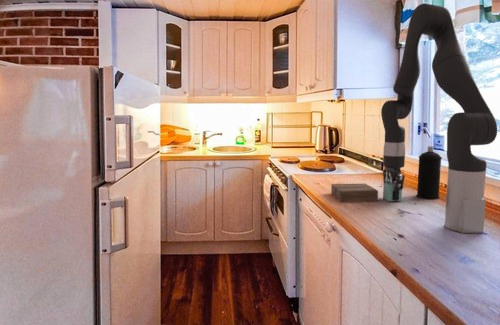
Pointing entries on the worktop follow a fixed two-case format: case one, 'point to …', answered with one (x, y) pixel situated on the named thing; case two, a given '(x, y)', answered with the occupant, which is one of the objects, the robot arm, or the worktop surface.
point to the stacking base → (354, 192)
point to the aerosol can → (429, 175)
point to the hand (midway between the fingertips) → (392, 198)
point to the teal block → (390, 192)
